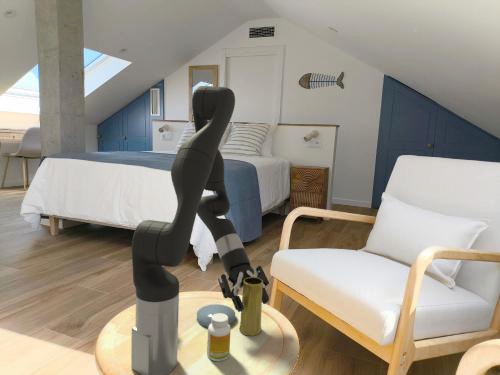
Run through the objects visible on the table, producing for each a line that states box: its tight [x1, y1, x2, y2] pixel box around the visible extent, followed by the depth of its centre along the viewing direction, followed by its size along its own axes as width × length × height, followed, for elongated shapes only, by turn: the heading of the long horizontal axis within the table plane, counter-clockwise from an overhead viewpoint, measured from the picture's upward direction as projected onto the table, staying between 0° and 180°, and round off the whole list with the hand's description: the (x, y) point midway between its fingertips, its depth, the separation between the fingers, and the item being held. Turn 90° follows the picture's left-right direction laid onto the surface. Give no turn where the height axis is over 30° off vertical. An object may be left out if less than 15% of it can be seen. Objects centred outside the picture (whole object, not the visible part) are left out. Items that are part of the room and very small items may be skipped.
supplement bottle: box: [206, 313, 232, 362], centre depth 84 cm, size 5×5×10 cm
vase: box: [239, 276, 263, 337], centre depth 95 cm, size 6×6×14 cm
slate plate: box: [196, 303, 236, 329], centre depth 101 cm, size 11×11×2 cm
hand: (254, 306), depth 94 cm, fingers open, 8 cm apart
